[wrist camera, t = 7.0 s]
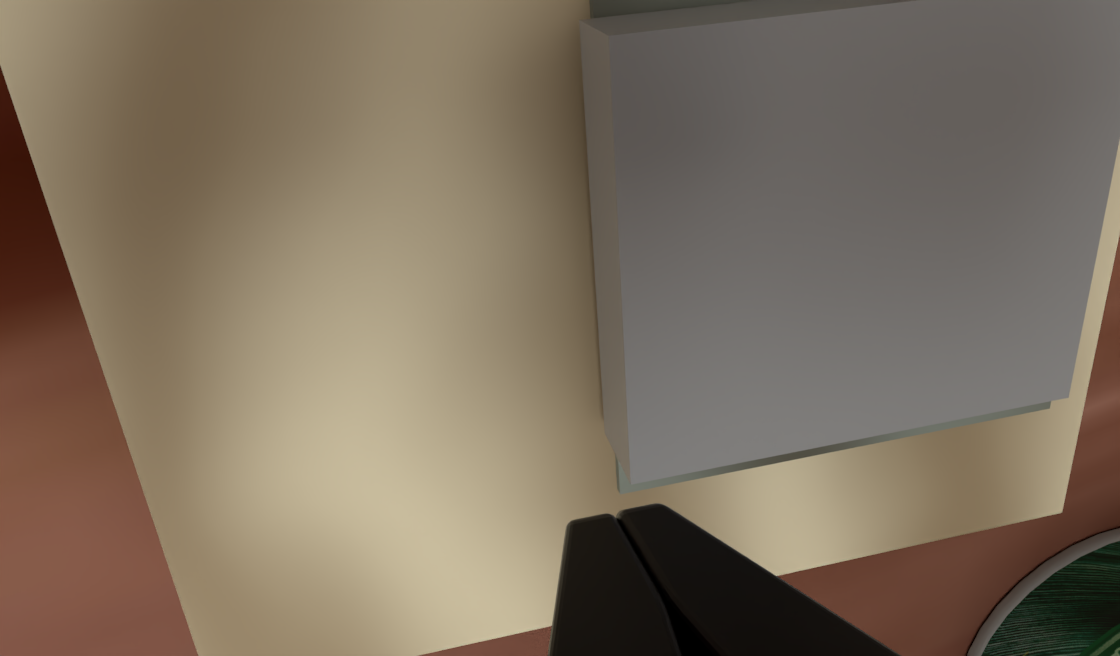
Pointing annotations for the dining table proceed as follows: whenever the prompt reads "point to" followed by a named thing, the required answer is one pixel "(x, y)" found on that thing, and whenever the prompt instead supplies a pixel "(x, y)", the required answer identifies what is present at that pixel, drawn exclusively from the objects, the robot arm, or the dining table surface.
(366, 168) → the board
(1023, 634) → the canned tomato
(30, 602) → the dining table surface
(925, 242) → the tile
